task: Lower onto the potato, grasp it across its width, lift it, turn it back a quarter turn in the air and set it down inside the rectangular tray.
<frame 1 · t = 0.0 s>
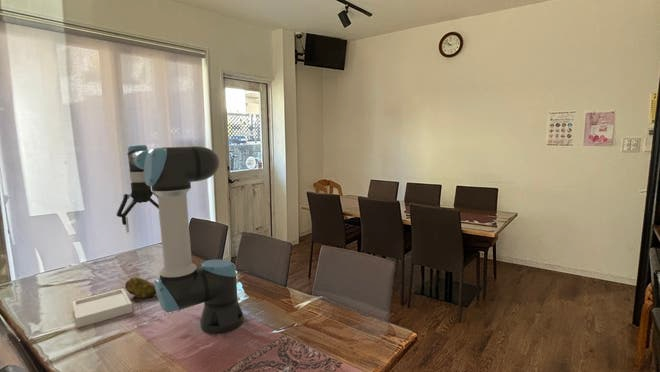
hand: (145, 229, 158), 28 cm above the table, fingers open, 13 cm apart
rectangular tray: (102, 310, 143), on the table
potato: (142, 296, 155), on the table
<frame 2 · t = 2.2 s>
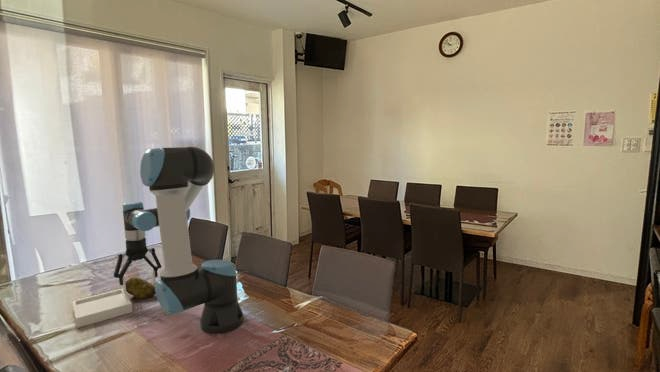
hand: (139, 288, 154), 4 cm above the table, fingers open, 11 cm apart
potato: (141, 296, 155), on the table, touching gripper
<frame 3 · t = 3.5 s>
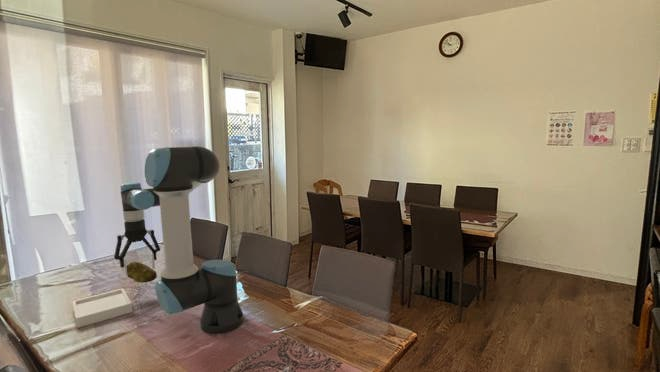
hand: (139, 270, 153), 12 cm above the table, fingers closed on potato, 10 cm apart
potato: (140, 281, 154), point 7 cm above the table, touching gripper
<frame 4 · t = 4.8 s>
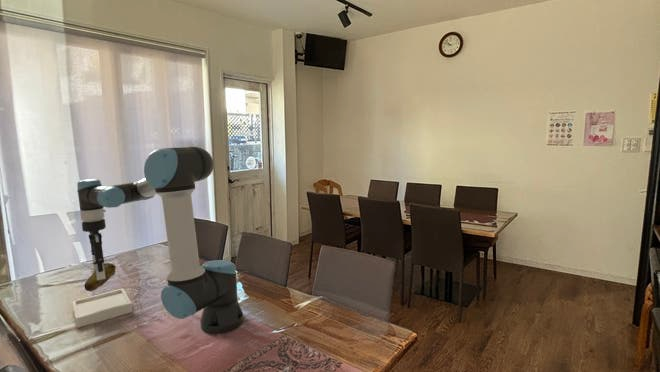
hand: (99, 275, 141), 15 cm above the table, fingers closed on potato, 10 cm apart
potato: (100, 286, 142), point 10 cm above the table, touching gripper
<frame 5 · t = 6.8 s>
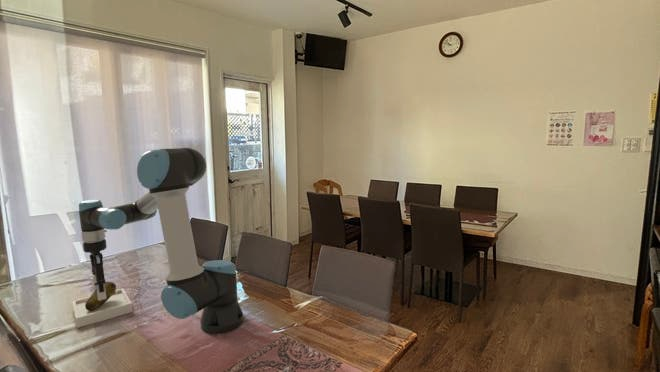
hand: (100, 294, 142), 7 cm above the table, fingers closed on potato, 10 cm apart
potato: (101, 305, 142), point 2 cm above the table, touching gripper, rectangular tray
when the fingers open (7 cm above the table, at t = 6.9 s): potato stays where it is, resting on rectangular tray.
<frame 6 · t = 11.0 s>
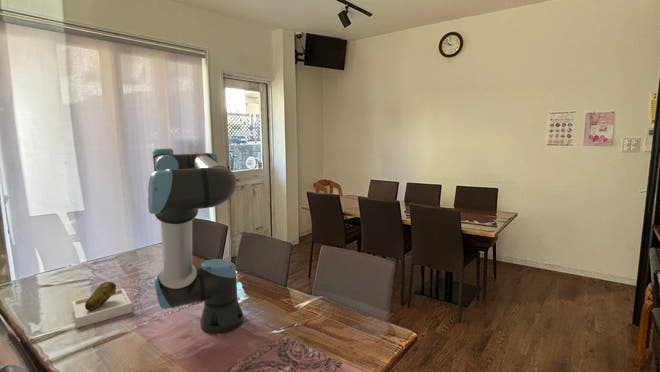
hand: (170, 238, 147), 27 cm above the table, fingers open, 13 cm apart
potato: (101, 305, 142), point 2 cm above the table, touching rectangular tray
at the end: potato 0.2 cm from the rectangular tray (horizontally); potato inside the target area on the rectangular tray (0.2 cm from its centre), point 2.3 cm above the rectangular tray's base; the gripper is holding nothing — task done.
